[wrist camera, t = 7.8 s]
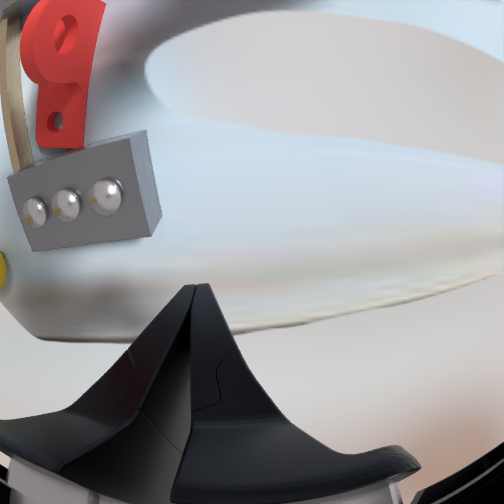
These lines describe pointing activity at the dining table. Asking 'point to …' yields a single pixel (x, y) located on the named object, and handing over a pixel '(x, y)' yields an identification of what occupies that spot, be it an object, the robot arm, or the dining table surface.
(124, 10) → the dining table surface
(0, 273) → the lemon
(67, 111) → the bracket
